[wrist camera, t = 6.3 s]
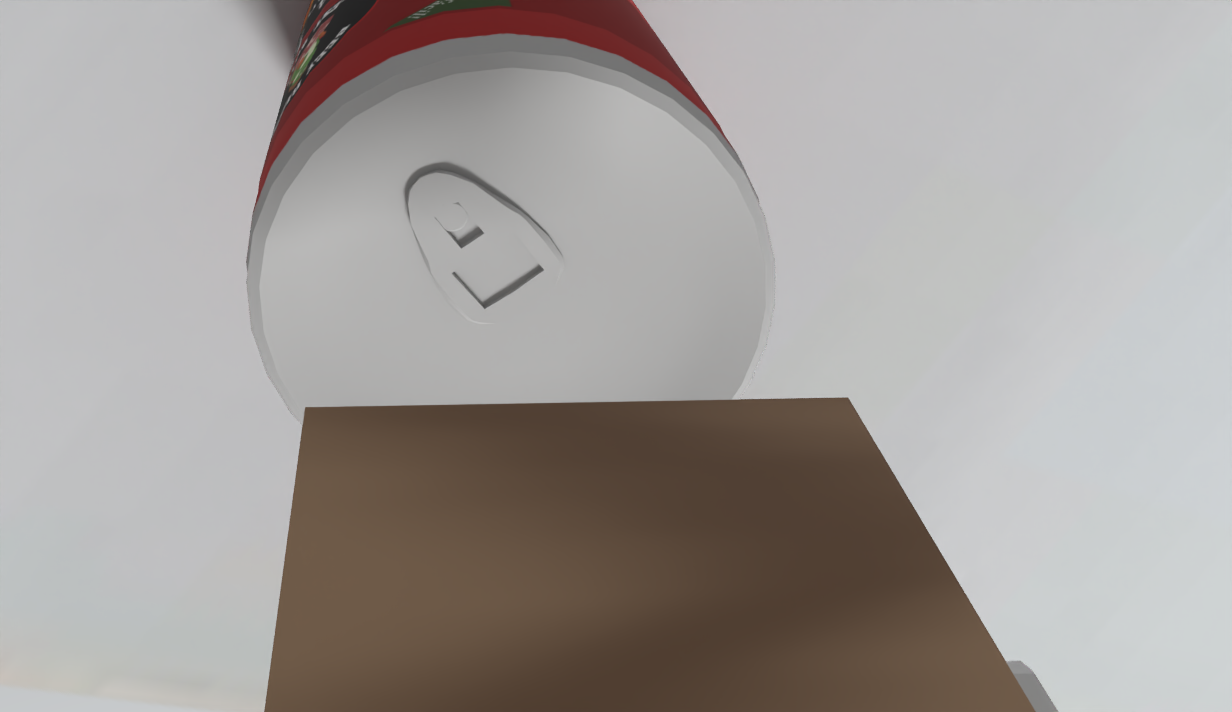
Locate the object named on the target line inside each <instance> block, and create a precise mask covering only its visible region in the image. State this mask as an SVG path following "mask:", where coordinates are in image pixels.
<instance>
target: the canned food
mask: <svg viewBox="0 0 1232 712" xmlns="http://www.w3.org/2000/svg"><path fill="white" fill-rule="evenodd" d="M246 263H247V273H248V274H247V281H246V283H247V292H248V302H249V311H250V321H251V330H252V333H253V335H254V338H255V341H256V344H257V347H258V350H259V353H260V356H261V359H262V361H263V364H264V367H265V370H266V373H267V375H268V377H269V378H270V380H271V381H272V383H273V385H274V386H275V388H276V390H277V391H278V393H279V395H280V396H281V398H282V400H283V401H284V403H285V404H286V406H287V408H288V409H289V411H290V413H291V414H292V415H293V416H294V417H295V418H296V419H297V420H298V421H299V423H300V424H301V425H302V426H303V419H304V411H305V407H344V406H401V405H457V404H514V403H570V402H627V401H683V400H739V399H740V398H741V396H742V395H743V393H744V392H745V391H746V389H747V388H748V386H749V385H750V382H751V380H752V378H753V375H754V373H755V371H756V368H757V366H758V364H759V361H760V359H761V357H762V355H763V352H764V350H765V348H766V345H767V340H768V335H769V331H770V326H771V321H772V316H773V311H774V306H775V258H774V254H773V250H772V245H771V241H770V236H769V232H768V228H767V223H766V219H765V215H764V213H763V211H762V209H761V207H760V204H759V200H758V197H757V194H756V192H755V190H754V188H753V186H752V184H751V182H750V180H749V178H748V176H747V173H746V171H745V169H744V167H743V165H742V163H741V161H740V159H739V157H738V155H737V153H736V152H735V150H734V149H733V147H732V146H731V144H730V143H729V141H728V140H727V138H726V137H725V135H724V134H723V131H722V129H721V127H720V125H719V124H718V123H717V121H716V120H715V118H714V117H713V115H712V114H711V112H710V111H709V110H708V108H707V107H706V105H705V104H704V102H703V101H702V100H701V98H700V97H699V95H698V94H697V92H696V91H695V90H694V88H693V87H692V85H691V84H690V82H689V81H688V80H687V78H686V77H685V75H684V74H683V72H682V71H681V70H680V68H679V67H678V65H677V64H676V62H675V61H674V59H673V58H672V57H671V55H670V54H669V52H668V51H667V49H666V48H665V47H664V45H663V44H662V42H661V41H660V39H659V38H658V37H657V35H656V34H655V32H654V31H653V29H652V28H651V27H650V25H649V24H648V22H647V21H646V19H645V18H644V16H643V15H642V14H641V12H640V11H639V9H638V8H637V6H636V5H635V4H634V2H633V1H632V0H312V1H311V3H310V6H309V9H308V11H307V14H306V17H305V20H304V23H303V27H302V30H301V34H300V38H299V41H298V45H297V48H296V52H295V56H294V59H293V63H292V66H291V70H290V74H289V77H288V81H287V84H286V88H285V91H284V95H283V99H282V102H281V106H280V109H279V113H278V117H277V120H276V124H275V127H274V131H273V135H272V138H271V142H270V145H269V149H268V152H267V156H266V160H265V163H264V167H263V170H262V174H261V178H260V182H259V190H258V195H257V199H256V203H255V207H254V211H253V215H252V223H251V231H250V238H249V246H248V253H247V261H246Z"/></svg>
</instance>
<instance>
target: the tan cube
mask: <svg viewBox="0 0 1232 712" xmlns="http://www.w3.org/2000/svg"><path fill="white" fill-rule="evenodd" d="M264 712H1036V711H1035V710H1034V708H1033V706H1032V705H1031V703H1030V701H1029V700H1028V698H1027V696H1026V695H1025V693H1024V691H1023V690H1022V688H1021V686H1020V685H1019V683H1018V681H1017V680H1016V678H1015V676H1014V675H1013V673H1012V671H1011V670H1010V668H1009V666H1008V664H1007V663H1006V661H1005V659H1004V658H1003V656H1002V654H1001V653H1000V651H999V649H998V648H997V646H996V644H995V643H994V641H993V639H992V638H991V636H990V634H989V633H988V631H987V629H986V628H985V626H984V624H983V623H982V621H981V619H980V618H979V616H978V614H977V613H976V611H975V609H974V608H973V606H972V604H971V603H970V601H969V599H968V598H967V596H966V594H965V593H964V591H963V589H962V587H961V586H960V584H959V582H958V581H957V579H956V577H955V576H954V574H953V572H952V571H951V569H950V567H949V566H948V564H947V562H946V561H945V559H944V557H943V556H942V554H941V552H940V551H939V549H938V547H937V546H936V544H935V542H934V541H933V539H932V537H931V536H930V534H929V532H928V531H927V529H926V527H925V526H924V524H923V522H922V521H921V519H920V517H919V516H918V514H917V512H916V510H915V509H914V507H913V505H912V504H911V502H910V500H909V499H908V497H907V495H906V494H905V492H904V490H903V489H902V487H901V485H900V484H899V482H898V480H897V479H896V477H895V475H894V474H893V472H892V470H891V469H890V467H889V465H888V464H887V462H886V460H885V459H884V457H883V455H882V454H881V452H880V450H879V449H878V447H877V445H876V444H875V442H874V440H873V439H872V437H871V435H870V434H869V432H868V430H867V428H866V427H865V425H864V423H863V422H862V420H861V418H860V417H859V415H858V413H857V412H856V410H855V408H854V407H853V405H852V403H851V402H850V400H849V398H796V399H740V400H683V401H627V402H570V403H514V404H457V405H401V406H344V407H305V411H304V419H303V426H302V434H301V441H300V449H299V456H298V464H297V471H296V479H295V486H294V494H293V501H292V509H291V516H290V524H289V531H288V539H287V546H286V554H285V561H284V569H283V576H282V584H281V591H280V599H279V606H278V614H277V621H276V629H275V636H274V644H273V651H272V659H271V666H270V674H269V681H268V689H267V696H266V704H265V711H264Z"/></svg>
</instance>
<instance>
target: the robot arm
mask: <svg viewBox="0 0 1232 712" xmlns="http://www.w3.org/2000/svg"><path fill="white" fill-rule="evenodd" d="M1006 663H1007V664H1008V666H1009V668H1010V670H1011V671H1012V673H1013V675H1014V676H1015V678H1016V680H1017V681H1018V683H1019V685H1020V686H1021V688H1022V690H1023V691H1024V693H1025V695H1026V696H1027V698H1028V700H1029V701H1030V703H1031V705H1032V706H1033V708H1034V710H1035V711H1036V712H1058V710H1057V709H1056V707H1055V706H1054V704H1053V702H1052V701H1051V699H1050V698H1049V696H1048V694H1047V693H1046V691H1045V690H1044V688H1043V687H1042V685H1041V683H1040V682H1039V680H1038V679H1037V677H1036V675H1035V674H1034V672H1033V671H1032V670H1031V669H1030V668H1029V667H1028V666H1026V665H1025V664H1024V663H1023V662H1021V661H1006Z"/></svg>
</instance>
